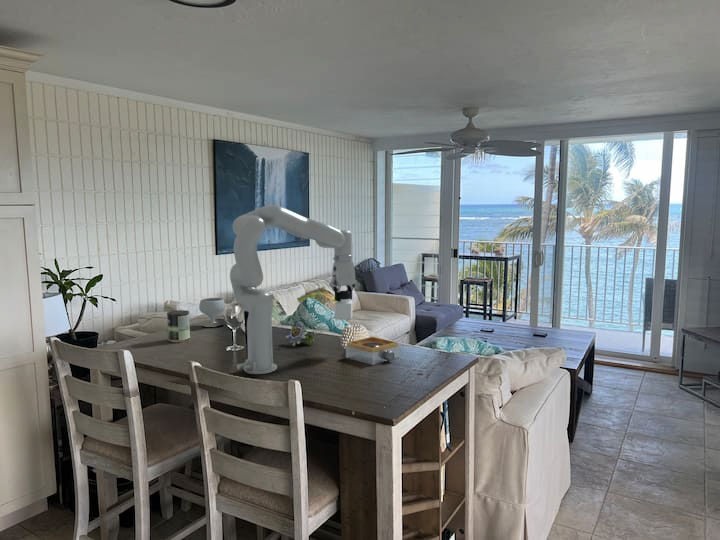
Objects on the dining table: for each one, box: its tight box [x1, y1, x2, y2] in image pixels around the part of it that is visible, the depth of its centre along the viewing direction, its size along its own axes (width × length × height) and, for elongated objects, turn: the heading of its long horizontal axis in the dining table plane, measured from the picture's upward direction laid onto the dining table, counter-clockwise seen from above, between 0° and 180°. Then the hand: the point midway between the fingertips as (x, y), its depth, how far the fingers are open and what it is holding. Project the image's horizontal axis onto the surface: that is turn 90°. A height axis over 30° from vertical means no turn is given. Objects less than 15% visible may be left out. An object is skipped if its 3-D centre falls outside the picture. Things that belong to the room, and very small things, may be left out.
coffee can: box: [166, 309, 191, 340], centre depth 249 cm, size 10×10×14 cm
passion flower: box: [285, 322, 316, 347], centre depth 239 cm, size 11×11×12 cm
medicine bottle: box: [334, 290, 354, 321], centre depth 221 cm, size 7×7×12 cm
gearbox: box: [345, 336, 400, 366], centre depth 214 cm, size 16×19×6 cm
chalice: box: [198, 297, 226, 324], centre depth 282 cm, size 14×14×15 cm
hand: (343, 299), depth 221 cm, fingers closed on medicine bottle, 6 cm apart
